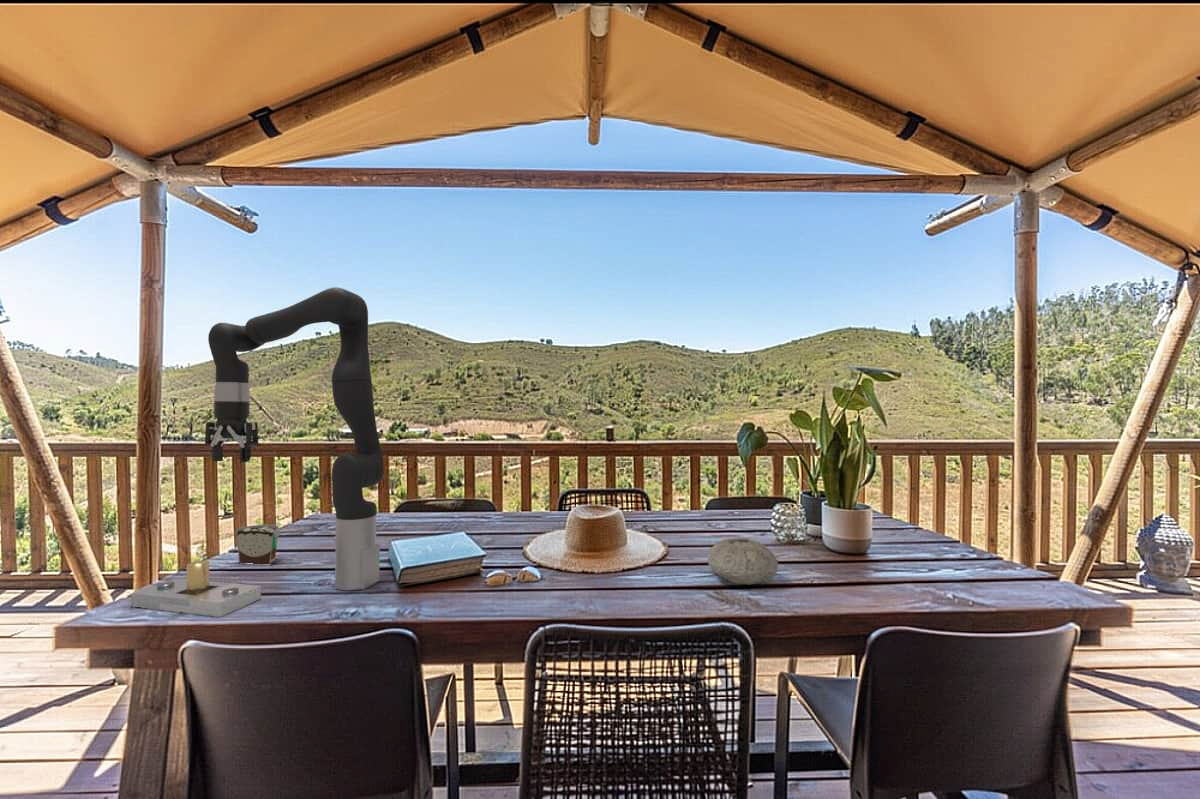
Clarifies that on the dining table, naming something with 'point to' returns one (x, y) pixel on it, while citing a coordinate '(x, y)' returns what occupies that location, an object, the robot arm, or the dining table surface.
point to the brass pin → (197, 577)
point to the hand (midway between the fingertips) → (231, 461)
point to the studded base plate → (196, 598)
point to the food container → (257, 543)
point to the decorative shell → (742, 561)
